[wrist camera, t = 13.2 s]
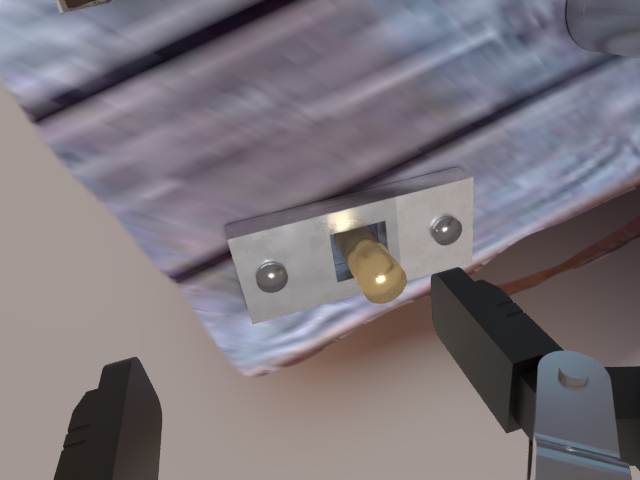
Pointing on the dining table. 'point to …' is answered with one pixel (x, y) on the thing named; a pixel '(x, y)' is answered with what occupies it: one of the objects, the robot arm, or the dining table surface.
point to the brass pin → (371, 264)
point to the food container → (78, 4)
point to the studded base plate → (345, 214)
